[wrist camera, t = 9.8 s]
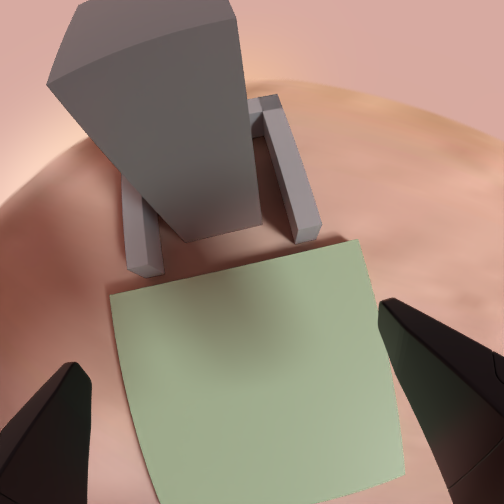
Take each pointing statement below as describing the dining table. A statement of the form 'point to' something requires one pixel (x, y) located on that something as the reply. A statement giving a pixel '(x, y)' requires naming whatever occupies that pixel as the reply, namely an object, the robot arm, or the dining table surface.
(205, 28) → the chute block
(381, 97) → the dining table surface
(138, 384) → the two-tone flat tray
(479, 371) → the robot arm
